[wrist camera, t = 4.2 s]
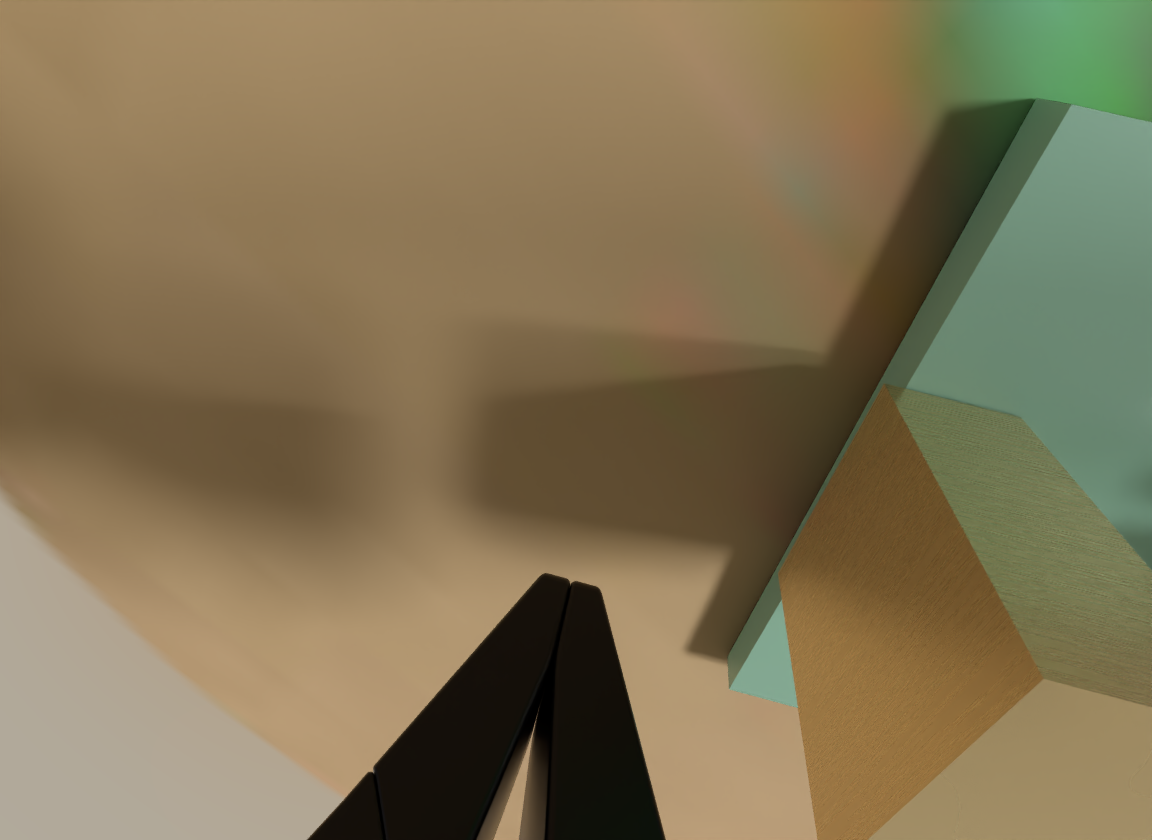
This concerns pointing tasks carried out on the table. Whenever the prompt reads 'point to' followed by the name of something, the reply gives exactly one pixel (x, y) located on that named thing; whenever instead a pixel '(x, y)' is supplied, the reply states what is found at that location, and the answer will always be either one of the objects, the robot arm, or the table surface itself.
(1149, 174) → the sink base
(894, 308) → the table surface
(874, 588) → the block
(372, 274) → the table surface
